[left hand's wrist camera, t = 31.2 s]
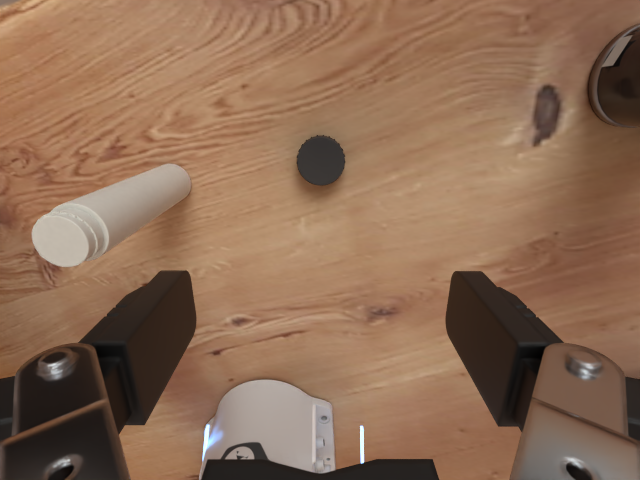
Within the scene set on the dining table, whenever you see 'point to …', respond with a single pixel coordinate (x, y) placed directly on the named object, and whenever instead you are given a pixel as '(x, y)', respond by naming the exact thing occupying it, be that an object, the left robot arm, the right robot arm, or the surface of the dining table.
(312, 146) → the lid
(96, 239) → the bottle
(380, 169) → the dining table surface
